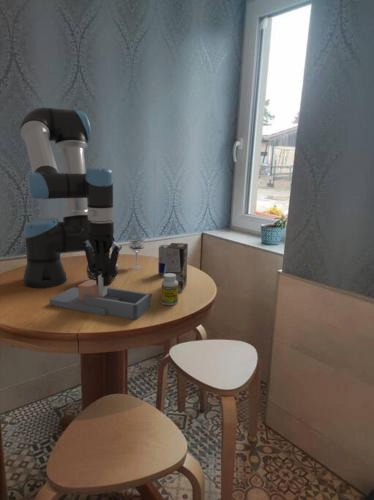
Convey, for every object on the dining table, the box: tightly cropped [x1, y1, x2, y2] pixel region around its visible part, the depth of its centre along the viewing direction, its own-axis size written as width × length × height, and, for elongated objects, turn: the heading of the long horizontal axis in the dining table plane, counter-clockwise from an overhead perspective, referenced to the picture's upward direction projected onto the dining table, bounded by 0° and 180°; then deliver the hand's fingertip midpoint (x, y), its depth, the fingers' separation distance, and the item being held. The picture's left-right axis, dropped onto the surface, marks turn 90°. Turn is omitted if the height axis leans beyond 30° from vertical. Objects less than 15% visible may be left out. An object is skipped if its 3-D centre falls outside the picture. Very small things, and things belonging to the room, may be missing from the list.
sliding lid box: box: [48, 286, 152, 321], centre depth 112 cm, size 30×12×4 cm, turn 71°
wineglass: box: [128, 238, 145, 270], centre depth 153 cm, size 7×7×12 cm
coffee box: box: [166, 242, 189, 293], centre depth 129 cm, size 9×6×16 cm
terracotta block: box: [77, 279, 106, 301], centre depth 113 cm, size 6×6×5 cm
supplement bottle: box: [161, 273, 179, 306], centre depth 116 cm, size 5×5×10 cm
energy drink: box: [157, 244, 170, 277], centre depth 144 cm, size 5×5×12 cm
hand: (103, 294), depth 112 cm, fingers closed
